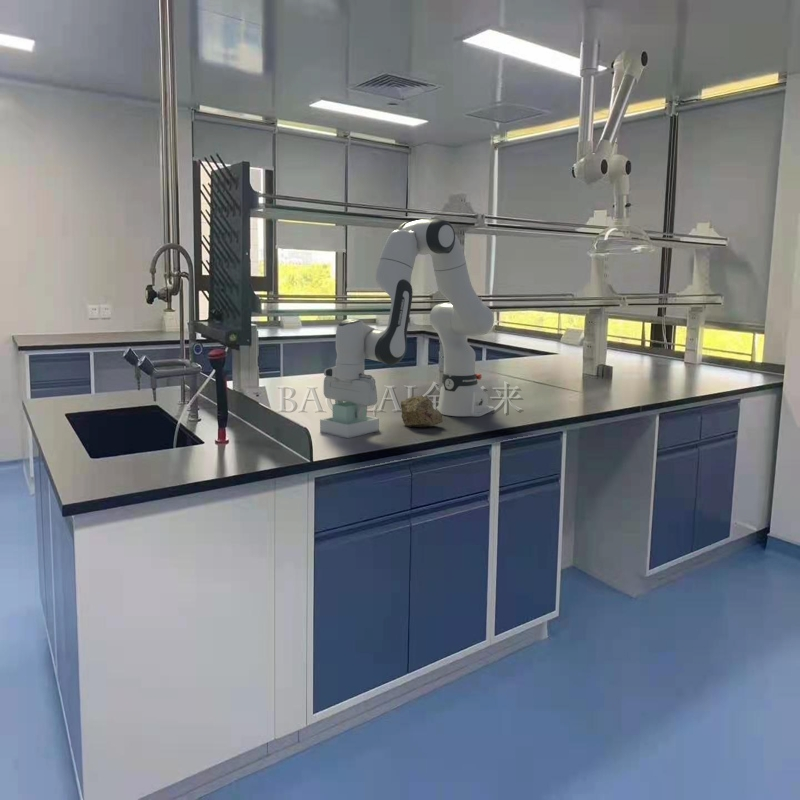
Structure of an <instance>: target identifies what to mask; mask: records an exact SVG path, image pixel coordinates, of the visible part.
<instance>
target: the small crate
mask: <svg viewBox="0 0 800 800" xmlns="http://www.w3.org/2000/svg"><path fill="white" fill-rule="evenodd" d="M357 411H358V407H357V404H355V403H349V402H344V401H343V403H338V404H335V403H334V404H332V417H333V421H334V422H339V423H343V424H352V423H356V422H361V421H365V420H367V416H368V415H367V413H368V406H365V409H364V410H363V412H362V418H355V412H357Z"/></svg>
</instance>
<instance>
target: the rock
mask: <svg viewBox="0 0 800 800" xmlns="http://www.w3.org/2000/svg"><path fill="white" fill-rule="evenodd" d="M432 403H433V402H432V400H431V399H430V398H428V397H424V396H423V395H420V396H419V395H417V396H416V395H414V396H411V397H410V396H409V397H408V398H406V399H405V400H401V401H400V408H401V419H402V421H403V424H404V425H405V426H406V427H409V428H412V427H413V428H414V427H416V428H426V427H434V426H435V425H439V424H442V423H443V417H442V416H443V414H441V413H440V412H439V411H438V410H437V409H436V408H434V407H433V404H432Z"/></svg>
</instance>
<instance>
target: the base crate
mask: <svg viewBox="0 0 800 800" xmlns="http://www.w3.org/2000/svg"><path fill="white" fill-rule="evenodd" d="M319 427H320V428H319V431H320V433H322V434H327V435H331V436H335V437H340V438H343V439H347V440H348V439H351V438H355V437H359V436H364V435H367V434H371V433H377V432H379V431H380V418H379V417H375V416H369V415H367V420H365V421H361V422H356V423H352V424H343V423H339V422H334V421H333V416H331V417H325V418H321V419H320V420H319Z"/></svg>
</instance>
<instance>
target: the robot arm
mask: <svg viewBox="0 0 800 800" xmlns="http://www.w3.org/2000/svg"><path fill="white" fill-rule="evenodd" d="M418 255H424V256H425V255H430V257H431V261H432V262H431V263H432V266H433V267H432V268H433V271H434V276H435V280H436V284H437V290H438V291H439V293H440V294H441V295H442V296H444V297H445V298H446V299H447V300H448V301H449V302H442V303H439V304H435V305H434V306H433V307H432V309H431V310H430V313H429V322H430V325H431V327H432V328H433V329H434V330H435V332H436V333H437V335H438V337H439V339H440V342H441V347H442V350H443V373H442V376H441V379H442V380H441V383H442V386H441V387H440V390H439V396H438V397H439V398H438V405H437V406H436V408H435V410H438V411H439V412H440V413H441V415H444V416H450V417H451V416H452V417H482V416H484V415H487V414H488V413H491V412H492V411H494V410H495V406H492V405H489V396H488V394H487V392H485V390H484V389H482V388H481V386H480V385H479V384H478V383H479V382H478V381H481V380H482V374H480V373H476V357H477V356H476V351H475V350H474V348H472V346H470V344H469V343H468V341H467V337H466V336H470V337H478V336H483V335H487V334H489V332H490V331H491V330H492V328H493V327H494V322H495V321H494V320H495V318H494V313H493V311H492V309H490V308H489V307H488V306H487V305H486V304H485V303H484V302H482V300H481V298H480V297H479V296H478V294H477V293H476V291H475V289H474V287H473V285H472V282H471V279H470V275H469V274H470V273H469V271H468V265H467V261H466V256H465V253H464V250H463V246H462V244H461V242H460V239H459V237H458V235H457V234H456V232H455V230H454V227H453V225H452V224H451V223H450V222H449V221H447V220H445V219H441V218H435V219H433V218H423V219H418V220H417V219H416V220H408V221H406V222H403V223H402V224H400V225H399V226H398V227H397V229H395V230H393V231H391V232H390V234H389V235H388V237H387V239H386V241H385V243H384V245H383V247H382V250H381V252H380V255H379V259H378V263H377V265H376V269H375V270H376V271H375V280H376V282H377V284H378V287H380V289H382V290H383V291H384V292H385V293H387V295H388V296H389V298H390V302H391V303H390V304H391V305H390V310H389V316H388V317H389V318H388V323H387V327H386V328H385V330H383V329H379V328H378V329H377V328H374V327H372V326H370V325H368V324H366V323H365V322H363V320H362V318H361V319H360V318H348V319H347V318H346V319H344V320H341V321H340V322H339V323H337V326H336V331H335V352H336V359H335V366H331V367H327V368H325V369H323V375H324V378H323V396H324V397H325V399H330V400H334V404H338V403H343V402H349V403H355V404H357V407H358V411H357V412H355V418H362V412H363V410H364V409H365V406H367V407H371V406H375V405H377V403H378V392H377V384H376V379H375V377H373V376H372V375H371V374H365V360H366V359H367V360H372V361H377V362H381V363H383V364H386V365H389V366H393V365H396V364H398V363H399V362H400V361H402V360H403V358H404V357H405V355H406V352H407V349H408V342H407V341H408V337H407V334H408V326H409V321H410V315H411V308H412V303H413V287H412V281H411V280H412V275H413V270H414V268H415V267H414V266H415V263H416V257H417V256H418Z"/></svg>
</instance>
